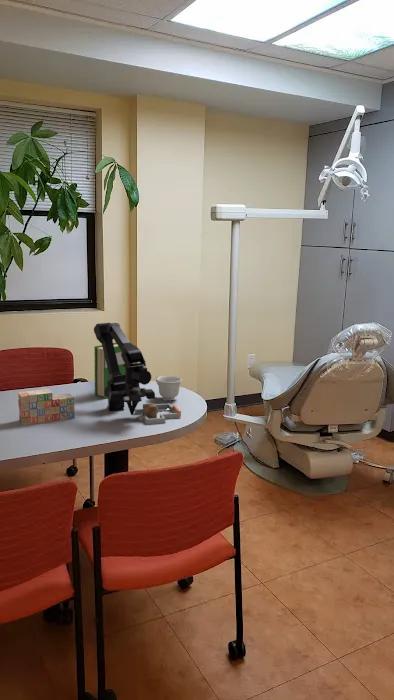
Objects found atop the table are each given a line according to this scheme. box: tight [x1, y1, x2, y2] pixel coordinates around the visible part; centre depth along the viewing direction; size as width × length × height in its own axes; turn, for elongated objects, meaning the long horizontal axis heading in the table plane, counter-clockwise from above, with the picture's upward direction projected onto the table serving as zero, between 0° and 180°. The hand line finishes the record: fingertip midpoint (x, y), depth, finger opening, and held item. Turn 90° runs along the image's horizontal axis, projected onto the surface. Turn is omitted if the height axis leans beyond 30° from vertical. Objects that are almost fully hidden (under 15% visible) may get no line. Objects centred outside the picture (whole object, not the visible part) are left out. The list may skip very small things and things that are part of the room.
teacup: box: [155, 375, 183, 401], centre depth 257 cm, size 12×15×10 cm
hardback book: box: [93, 342, 134, 400], centre depth 261 cm, size 18×7×24 cm, turn 141°
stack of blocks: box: [17, 388, 76, 426], centre depth 223 cm, size 21×6×12 cm, turn 118°
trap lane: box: [134, 403, 182, 425], centre depth 233 cm, size 18×19×3 cm
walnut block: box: [142, 402, 158, 419], centre depth 232 cm, size 5×5×5 cm
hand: (131, 414), depth 230 cm, fingers closed
